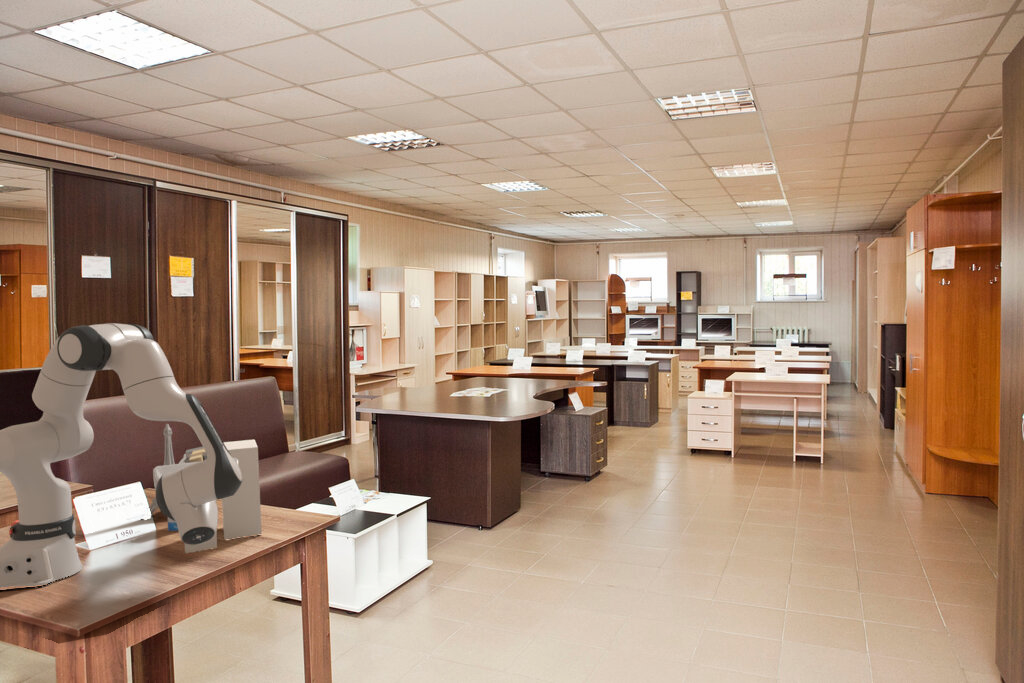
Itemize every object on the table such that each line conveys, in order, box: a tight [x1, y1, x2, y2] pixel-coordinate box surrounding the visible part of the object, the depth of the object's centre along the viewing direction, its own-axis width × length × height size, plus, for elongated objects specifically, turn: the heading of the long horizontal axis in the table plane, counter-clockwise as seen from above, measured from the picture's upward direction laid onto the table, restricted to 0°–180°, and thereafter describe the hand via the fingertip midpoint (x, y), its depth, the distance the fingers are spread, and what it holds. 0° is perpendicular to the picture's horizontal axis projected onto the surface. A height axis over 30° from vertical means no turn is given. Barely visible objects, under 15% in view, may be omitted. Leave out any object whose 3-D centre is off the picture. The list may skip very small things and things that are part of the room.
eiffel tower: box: [148, 423, 176, 515], centre depth 222 cm, size 13×13×30 cm
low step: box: [184, 532, 218, 554], centre depth 192 cm, size 8×14×16 cm, turn 24°
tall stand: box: [221, 438, 262, 540], centre depth 202 cm, size 10×14×26 cm
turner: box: [182, 445, 206, 463], centre depth 187 cm, size 23×9×3 cm, turn 20°
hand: (196, 454), depth 181 cm, fingers closed on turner, 3 cm apart
